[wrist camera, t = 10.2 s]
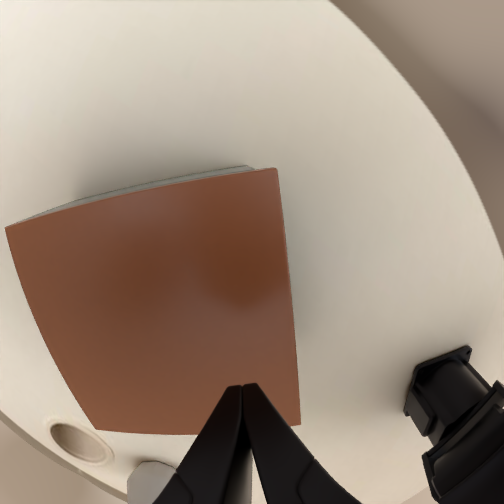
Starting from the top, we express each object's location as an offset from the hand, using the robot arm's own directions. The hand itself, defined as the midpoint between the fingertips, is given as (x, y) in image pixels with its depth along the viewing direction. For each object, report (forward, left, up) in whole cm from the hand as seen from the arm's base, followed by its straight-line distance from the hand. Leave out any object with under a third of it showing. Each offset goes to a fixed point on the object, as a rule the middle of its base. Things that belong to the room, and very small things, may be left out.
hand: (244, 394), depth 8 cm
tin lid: (+4, 0, -4) cm, 5 cm away
